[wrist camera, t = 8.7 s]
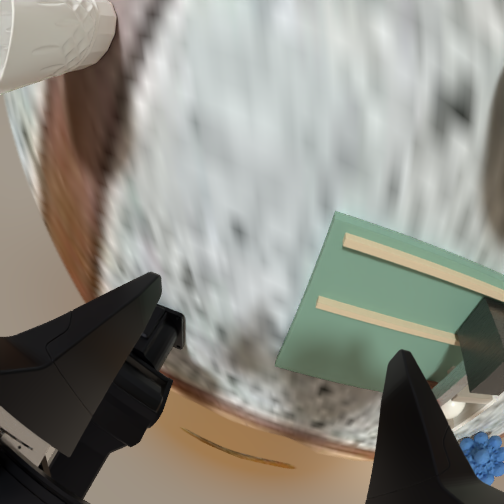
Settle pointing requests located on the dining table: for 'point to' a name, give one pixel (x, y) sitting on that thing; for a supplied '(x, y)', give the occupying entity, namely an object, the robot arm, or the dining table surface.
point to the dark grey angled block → (477, 355)
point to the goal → (469, 405)
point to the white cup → (51, 38)
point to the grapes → (484, 456)
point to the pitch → (383, 306)
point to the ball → (452, 409)
